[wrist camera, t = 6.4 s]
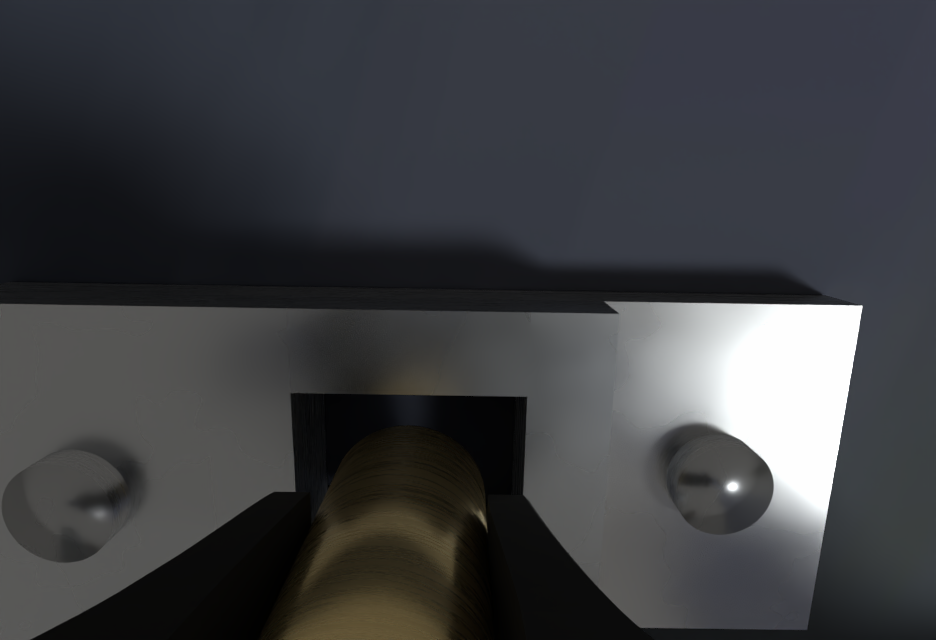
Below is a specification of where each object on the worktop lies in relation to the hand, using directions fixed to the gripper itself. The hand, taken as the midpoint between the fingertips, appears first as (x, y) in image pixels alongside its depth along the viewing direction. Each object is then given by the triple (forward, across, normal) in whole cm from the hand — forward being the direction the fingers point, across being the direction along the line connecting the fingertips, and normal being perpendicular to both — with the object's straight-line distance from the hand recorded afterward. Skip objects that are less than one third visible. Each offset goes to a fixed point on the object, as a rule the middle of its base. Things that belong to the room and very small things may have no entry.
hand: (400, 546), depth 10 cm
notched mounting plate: (+4, 0, 0) cm, 4 cm away
